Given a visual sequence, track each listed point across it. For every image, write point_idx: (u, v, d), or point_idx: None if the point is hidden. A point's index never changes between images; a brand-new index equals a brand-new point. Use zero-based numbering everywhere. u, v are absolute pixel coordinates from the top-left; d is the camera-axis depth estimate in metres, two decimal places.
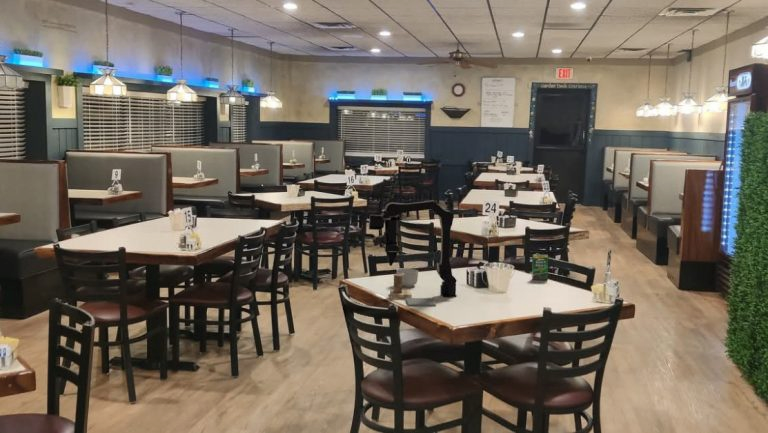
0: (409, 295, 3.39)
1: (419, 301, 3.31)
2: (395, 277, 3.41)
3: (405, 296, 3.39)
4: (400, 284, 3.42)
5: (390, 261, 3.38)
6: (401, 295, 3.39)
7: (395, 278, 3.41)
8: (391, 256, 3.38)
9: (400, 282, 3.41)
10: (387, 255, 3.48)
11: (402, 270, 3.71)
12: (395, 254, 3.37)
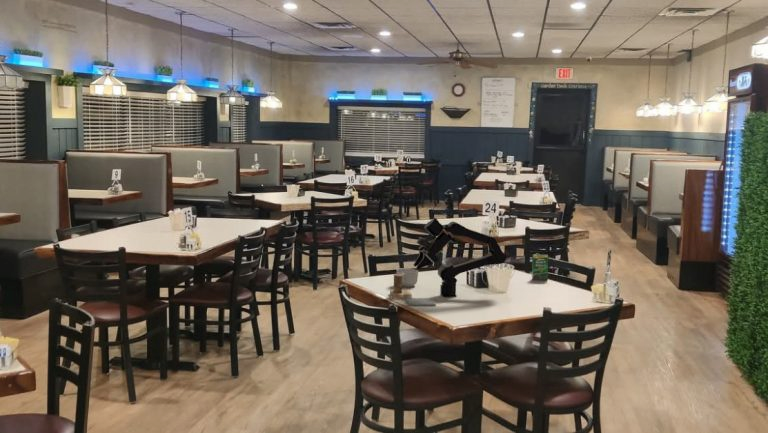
0: (409, 295, 3.39)
1: (419, 301, 3.31)
2: (395, 277, 3.41)
3: (405, 296, 3.39)
4: (400, 284, 3.42)
5: (419, 265, 3.40)
6: (401, 295, 3.39)
7: (395, 278, 3.41)
8: (424, 262, 3.39)
9: (400, 282, 3.41)
10: (417, 260, 3.47)
11: (402, 270, 3.71)
12: (429, 263, 3.39)
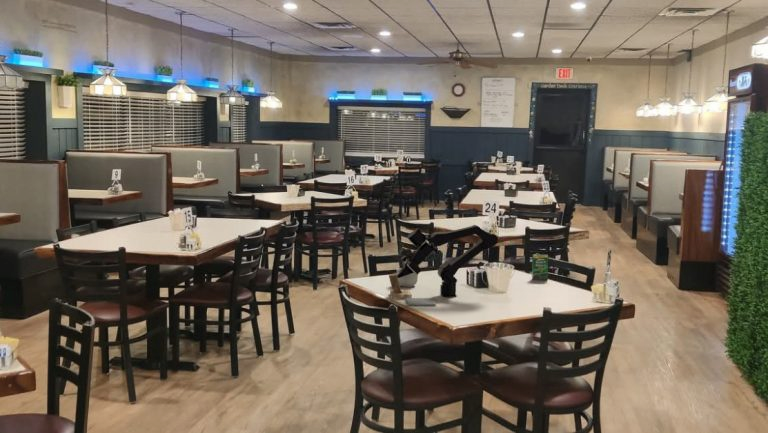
0: (409, 295, 3.39)
1: (419, 301, 3.31)
2: (390, 278, 3.41)
3: (405, 296, 3.39)
4: (397, 283, 3.41)
5: (400, 274, 3.42)
6: (401, 295, 3.39)
7: (390, 278, 3.41)
8: (405, 271, 3.42)
9: (396, 281, 3.41)
10: None
11: None
12: (409, 272, 3.41)
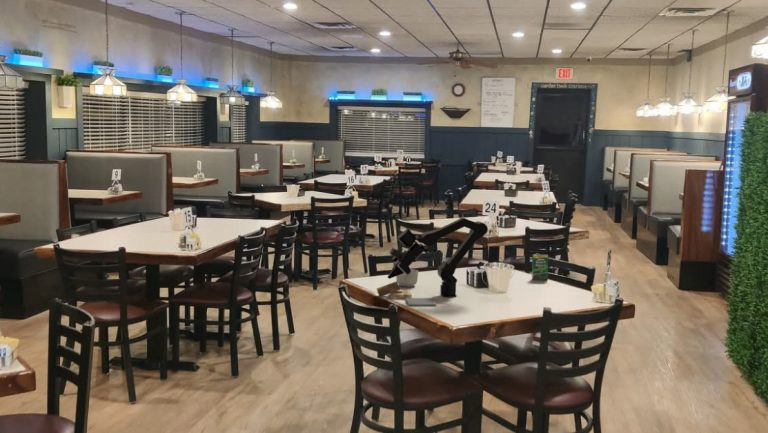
0: (409, 295, 3.39)
1: (419, 301, 3.31)
2: (381, 295, 3.41)
3: (405, 296, 3.39)
4: (385, 288, 3.41)
5: (391, 275, 3.41)
6: (401, 295, 3.39)
7: (381, 295, 3.41)
8: (395, 271, 3.41)
9: (383, 289, 3.41)
10: None
11: None
12: (400, 273, 3.41)
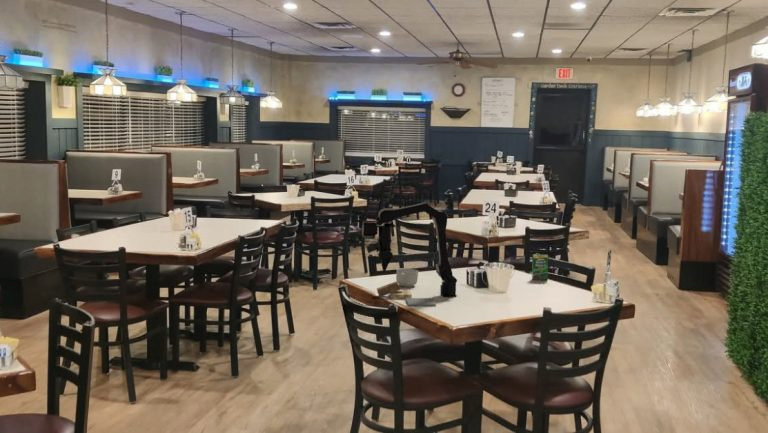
0: (409, 295, 3.39)
1: (419, 301, 3.31)
2: (381, 295, 3.41)
3: (405, 296, 3.39)
4: (385, 288, 3.41)
5: (383, 267, 3.40)
6: (401, 295, 3.39)
7: (381, 295, 3.41)
8: (384, 261, 3.39)
9: (383, 289, 3.41)
10: (382, 263, 3.43)
11: (402, 270, 3.71)
12: (388, 259, 3.38)
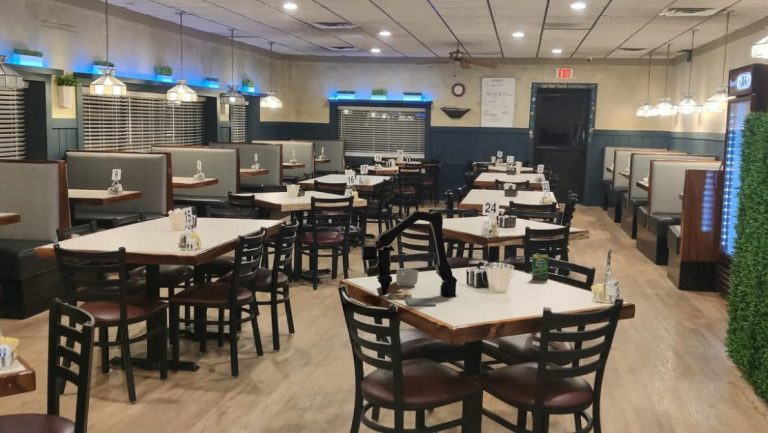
0: (409, 295, 3.39)
1: (419, 301, 3.31)
2: (381, 295, 3.41)
3: (405, 296, 3.39)
4: None
5: (383, 290, 3.40)
6: (401, 295, 3.39)
7: (381, 295, 3.41)
8: (384, 285, 3.40)
9: None
10: None
11: (402, 270, 3.71)
12: (388, 283, 3.39)
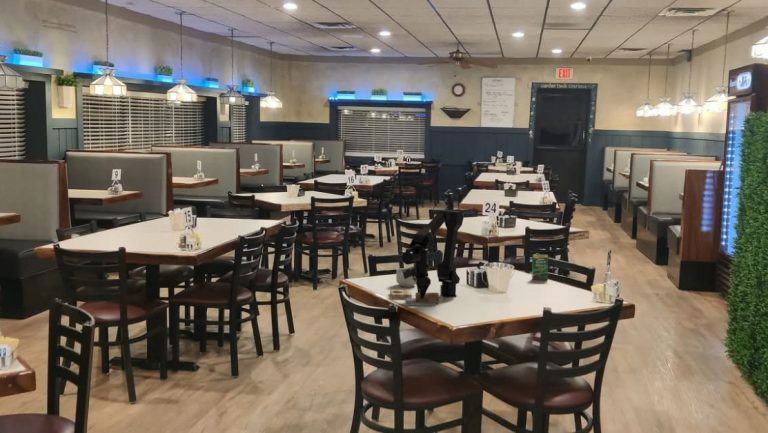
0: (409, 295, 3.39)
1: None
2: (418, 301, 3.30)
3: (405, 296, 3.39)
4: (425, 295, 3.30)
5: (421, 294, 3.26)
6: (401, 295, 3.39)
7: (419, 301, 3.30)
8: (422, 289, 3.25)
9: None
10: (417, 287, 3.35)
11: None
12: (426, 287, 3.25)
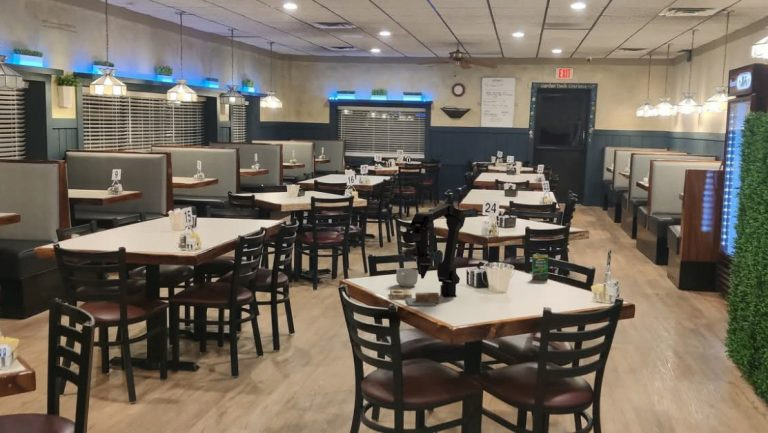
0: (409, 295, 3.39)
1: None
2: (418, 301, 3.30)
3: (405, 296, 3.39)
4: (425, 295, 3.30)
5: (422, 274, 3.25)
6: (401, 295, 3.39)
7: (419, 301, 3.30)
8: (423, 269, 3.24)
9: (423, 295, 3.30)
10: (418, 267, 3.34)
11: (402, 270, 3.71)
12: (427, 266, 3.23)
